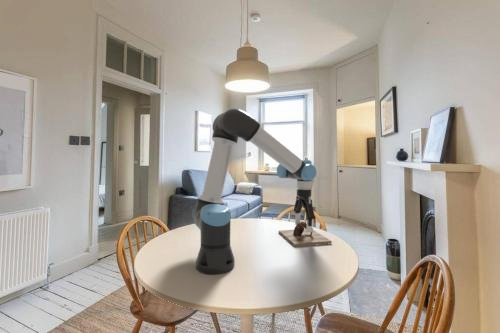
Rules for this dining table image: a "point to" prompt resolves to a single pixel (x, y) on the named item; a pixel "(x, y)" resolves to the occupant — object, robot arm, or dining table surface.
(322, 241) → the walnut board
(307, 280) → the dining table surface
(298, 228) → the brown arched figurine
